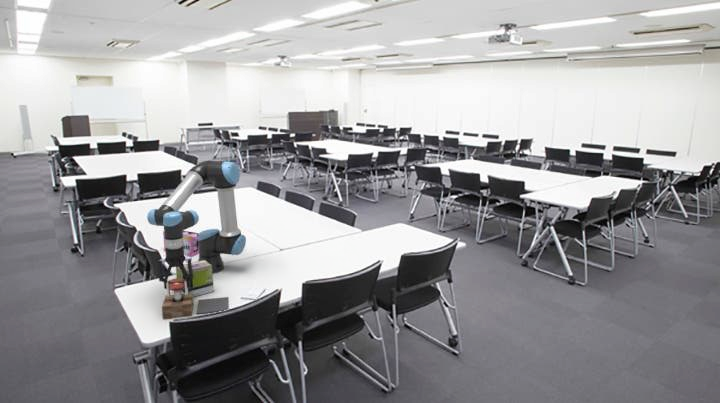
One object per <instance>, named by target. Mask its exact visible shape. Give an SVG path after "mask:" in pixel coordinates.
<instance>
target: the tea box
mask: <svg viewBox="0 0 720 403" xmlns="http://www.w3.org/2000/svg"><path fill="white" fill-rule="evenodd" d="M183 264H184V263H183ZM191 265H192V270H193V275H194V277H193V279H192V280H190V286H189V287H188V293H193V298H194V297H197V296H201V295H204V294H208V293H211V292H212V293H213V292H214V290H215V288H214V275H213V274H214V273H212V265H211V264H209V263H208V262H206V261H205V260H202V261H198V260H197V261H194V262H191ZM184 267H185V269H186V271H187V273H188V275H189V270H188V263H185V264H184ZM175 275H176V278H183V279H185V277H184V275H183V273H182V271H181V269H180V268H179V267H175ZM189 277H190V275H189ZM181 294H185V288H184V289H181Z"/></svg>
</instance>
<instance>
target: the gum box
mask: <svg viewBox="0 0 720 403" xmlns="http://www.w3.org/2000/svg"><path fill="white" fill-rule="evenodd" d="M162 233H163V246H164V248H163V250H165V249H166V247H165V234H164V230H163V231H162ZM199 233H200V232H195V231H188V230H187V231H186V230H183V244H184V245H183V247H184V255H185V257H189V258H192V257H195V256H197V255H199V245H198V235H199Z"/></svg>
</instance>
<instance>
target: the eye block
mask: <svg viewBox="0 0 720 403" xmlns="http://www.w3.org/2000/svg"><path fill="white" fill-rule="evenodd" d="M181 296H182V302H175V298H174V294H170V295H169V296H167V294H165V296H164V300H163V303H162V305H161V312H162V320H169V319H178V318H179V319H181V318H187V317H193V310H194V305H195V304H194V303H195V302H194V297H193V293H188V294H187V295H185V294H181Z"/></svg>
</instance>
